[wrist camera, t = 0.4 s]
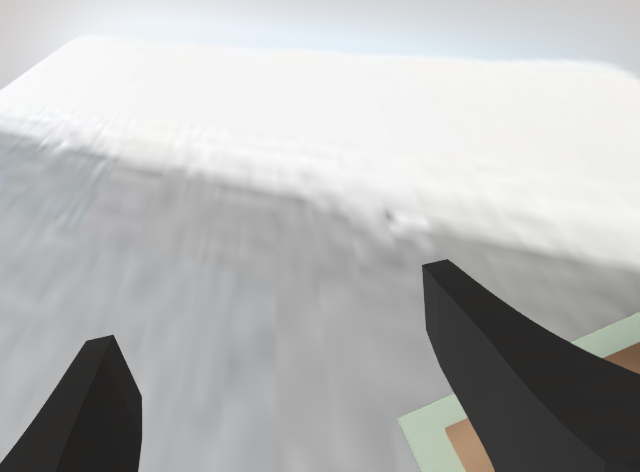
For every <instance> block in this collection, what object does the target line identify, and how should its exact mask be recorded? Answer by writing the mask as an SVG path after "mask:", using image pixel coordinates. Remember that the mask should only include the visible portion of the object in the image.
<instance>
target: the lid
mask: <svg viewBox="0 0 640 472" xmlns="http://www.w3.org/2000/svg"><path fill="white" fill-rule="evenodd" d="M603 359H605V360H607V361H610V362H612V363H614V364H617V365H619V366H621V367H624V368H626V369H628V370H631V371H633V372H636V373H639V374H640V342H638V343H636V344H634V345H631V346H629V347H627V348H625V349H622V350H620V351H618V352H615V353H613V354H611V355H609V356H606V357H604V358H603ZM445 431H446V434H447V437H448V438H449V440H450V442H451V444H452V446H453V448H454V450H455V452H456V454H457V456H458V458H459V460H460V462H461V464H462V466H463V467H464V469H465V471H466V472H495V471H494V468H493V466H492V463H491V461H490V459H489V457H488V455H487V453H486V451H485V449H484V447H483V445H482V443H481V441H480V439H479V437H478V436H477V434H476V432H475V430H474V428H473V426H472V425H471V423H470V421H469V419H468V418H466V419H464V420H462V421H459V422H457V423H455V424H453V425H450V426H448V427H446V428H445Z"/></svg>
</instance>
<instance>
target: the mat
mask: <svg viewBox="0 0 640 472" xmlns="http://www.w3.org/2000/svg"><path fill="white" fill-rule="evenodd" d="M638 342H640V312H638V313H636V314H634V315H631V316H629V317H627V318H625V319H622V320H620V321H618V322H616V323H613V324H611V325H609V326H606V327H604V328H602V329H600V330H597V331H595V332H593V333H591V334H588V335H586V336H584V337H581V338H579V339H577V340H575V341H572V342H570V343H572V344H574V345H576V346H578V347H580V348H582V349H584V350H586V351H588V352H590V353H592V354H594V355H596V356H598V357H600V358H604V357H606V356H609V355H611V354H613V353H615V352H618V351H620V350H622V349H625V348H627V347H629V346H631V345H634V344H636V343H638ZM466 418H468V417H467V415H466V413H465V412H464V410H463V408H462V406H461V404H460V402H459V401H458V399H457V397H456V395H455V393H454V394H452V395H450V396H447V397H445V398H443V399H441V400H438V401H436V402H434V403H431V404H429V405H427V406H425V407H422V408H420V409H418V410H416V411H413V412H411V413H409V414H406V415H404V416H402V417H400V418H398V421H399V423H400V426H401V428H402V430H403V432H404V434H405V437H406V439H407V441H408V443H409V445H410V447H411V450H412V452H413V454H414V456H415V458H416V461H417V463H418V465H419V467H420V469H421V471H422V472H466V471H465V469H464V467H463V466H462V464H461V462H460V460H459V458H458V456H457V454H456V452H455V450H454V448H453V446H452V444H451V442H450V440H449V438H448V437H447V434H446V431H445V428H446V427H448V426H450V425H453V424H455V423H457V422H459V421H462V420H464V419H466Z"/></svg>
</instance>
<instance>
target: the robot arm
mask: <svg viewBox="0 0 640 472" xmlns="http://www.w3.org/2000/svg"><path fill="white" fill-rule="evenodd" d="M422 270H423V286H424V302H425V318H426V331H427V333H428V336H429V339H430V341H431V344H432V347H433V349H434V352H435V354H436V357H437V359H438V362H439V364H440V367H441V369H442V371H443V373H444V374H445V376H446V378H447V380H448V382H449V384H450V386H451V388H452V389H453V391H454V393H455V395H456V397H457V399H458V401H459V402H460V404H461V406H462V408H463V410H464V412H465V413H466V415H467V417H468V419H469V421H470V423H471V425H472V426H473V428H474V430H475V432H476V434H477V436H478V437H479V439H480V441H481V443H482V445H483V447H484V449H485V451H486V453H487V455H488V457H489V459H490V461H491V463H492V466H493V468H494V471H495V472H640V374H639V373H636V372H633V371H631V370H628V369H626V368H624V367H621V366H619V365H617V364H614V363H612V362H610V361H607V360H605V359H603V358H600V357H598V356H596V355H594V354H592V353H590V352H588V351H586V350H584V349H582V348H580V347H578V346H576V345H574V344H572V343H570V342H568V341H566V340H564V339H562V338H560V337H559V336H557V335H555V334H553V333H552V332H550V331H548V330H546V329H545V328H543V327H541V326H540V325H538V324H537V323H535V322H533V321H532V320H530V319H529V318H527V317H526V316H524V315H523V314H521V313H519V312H518V311H516V310H515V309H514V308H512V307H511V306H509V305H508V304H506V303H505V302H504V301H502V300H501V299H499V298H498V297H497V296H495V295H494V294H492V293H491V292H490V291H488V290H487V289H486V288H484V287H483V286H482V285H480V284H479V283H478V282H476V281H475V280H474V279H473V278H471V277H470V276H469V275H467V274H466V273H465V272H464V271H462V270H461V269H460V268H459V267H457V266H456V265H455V264H453V263H452V262H451V261H449V260H448V259H446V260H442V261H437V262H433V263H429V264H424V265H422ZM141 443H142V396H141V394H140V392H139V389H138V387H137V385H136V383H135V381H134V379H133V376H132V374H131V372H130V370H129V368H128V365H127V363H126V361H125V359H124V357H123V355H122V352H121V350H120V348H119V346H118V344H117V342H116V339H115V337H114V335H110V336H106V337H101V338H97V339H93V340H88V341H86V342H85V344H84V345H83V347H82V348H81V350H80V351H79V353H78V354H77V356H76V357H75V359H74V360H73V362H72V363H71V365H70V366H69V368H68V369H67V371H66V373H65V374H64V376H63V377H62V379H61V380H60V382H59V383H58V385H57V386H56V388H55V389H54V391H53V392H52V394H51V395H50V397H49V398H48V400H47V401H46V403H45V404H44V406H43V407H42V408H41V410H40V411H39V413H38V414H37V416H36V417H35V419H34V420H33V421H32V423H31V424H30V425H29V427H28V428H27V429H26V431H25V432H24V433H23V435H22V436H21V437H20V439H19V440H18V441H17V443H16V444H15V445H14V447H13V448H12V450H11V451H10V452H9V453H8V455H7V456H6V457H5V458H4V460H3V461H2V462H1V463H0V472H138V468H139V460H140V452H141Z"/></svg>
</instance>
